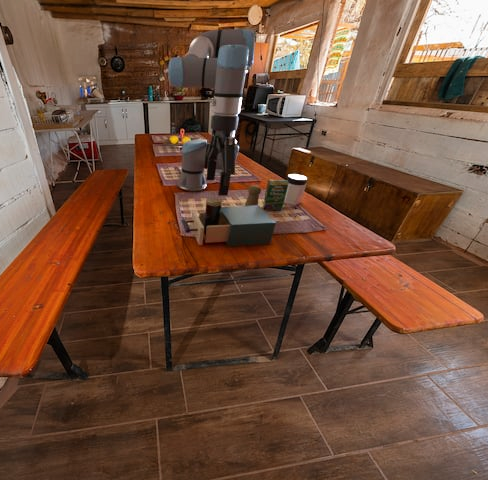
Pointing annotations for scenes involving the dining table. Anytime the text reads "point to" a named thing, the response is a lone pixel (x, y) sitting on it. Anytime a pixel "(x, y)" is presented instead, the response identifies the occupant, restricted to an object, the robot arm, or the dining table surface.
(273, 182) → the coffee box
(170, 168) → the dining table surface
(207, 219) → the tin
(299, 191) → the jar
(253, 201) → the olive peanut shape
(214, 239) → the drawer
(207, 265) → the dining table surface
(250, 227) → the cabinet
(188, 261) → the dining table surface
